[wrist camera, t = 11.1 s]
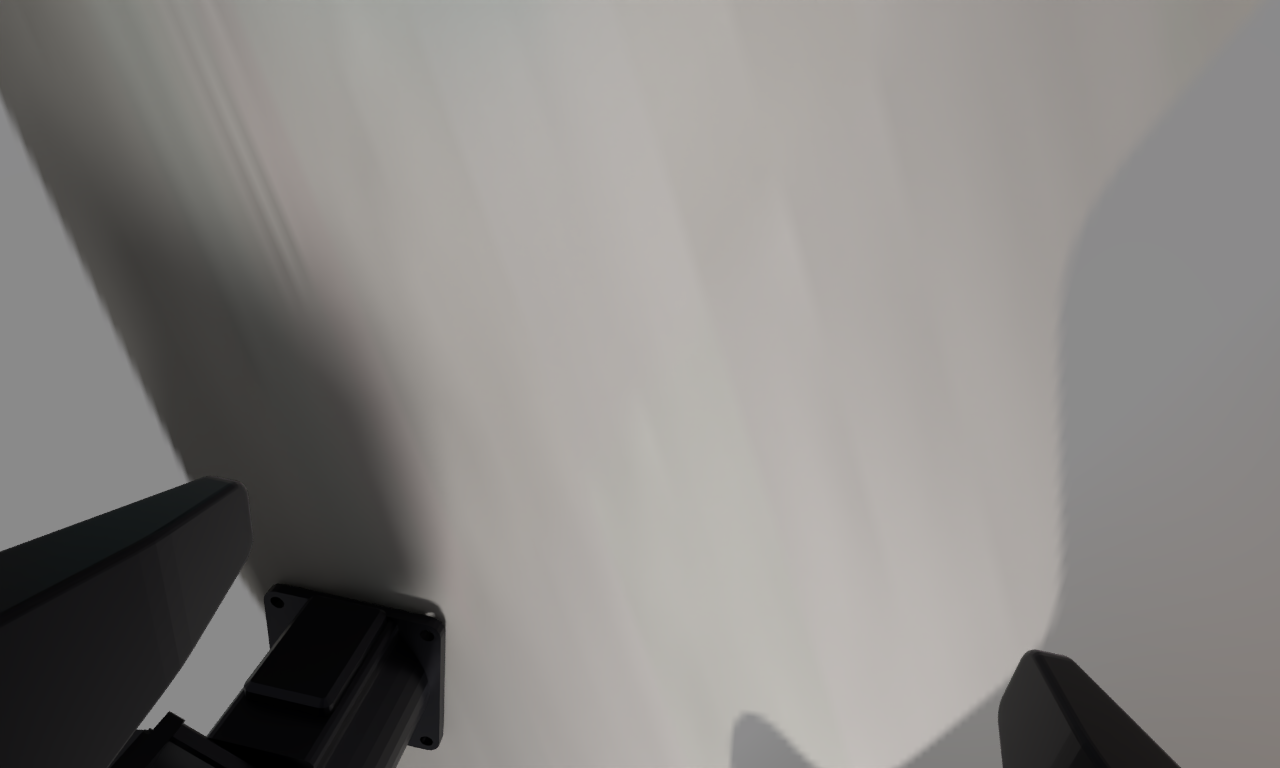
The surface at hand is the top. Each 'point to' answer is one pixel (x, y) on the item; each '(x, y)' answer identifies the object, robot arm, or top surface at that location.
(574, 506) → the top surface
